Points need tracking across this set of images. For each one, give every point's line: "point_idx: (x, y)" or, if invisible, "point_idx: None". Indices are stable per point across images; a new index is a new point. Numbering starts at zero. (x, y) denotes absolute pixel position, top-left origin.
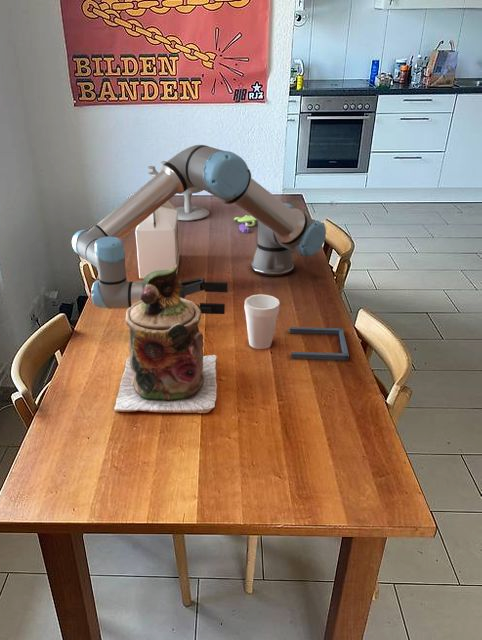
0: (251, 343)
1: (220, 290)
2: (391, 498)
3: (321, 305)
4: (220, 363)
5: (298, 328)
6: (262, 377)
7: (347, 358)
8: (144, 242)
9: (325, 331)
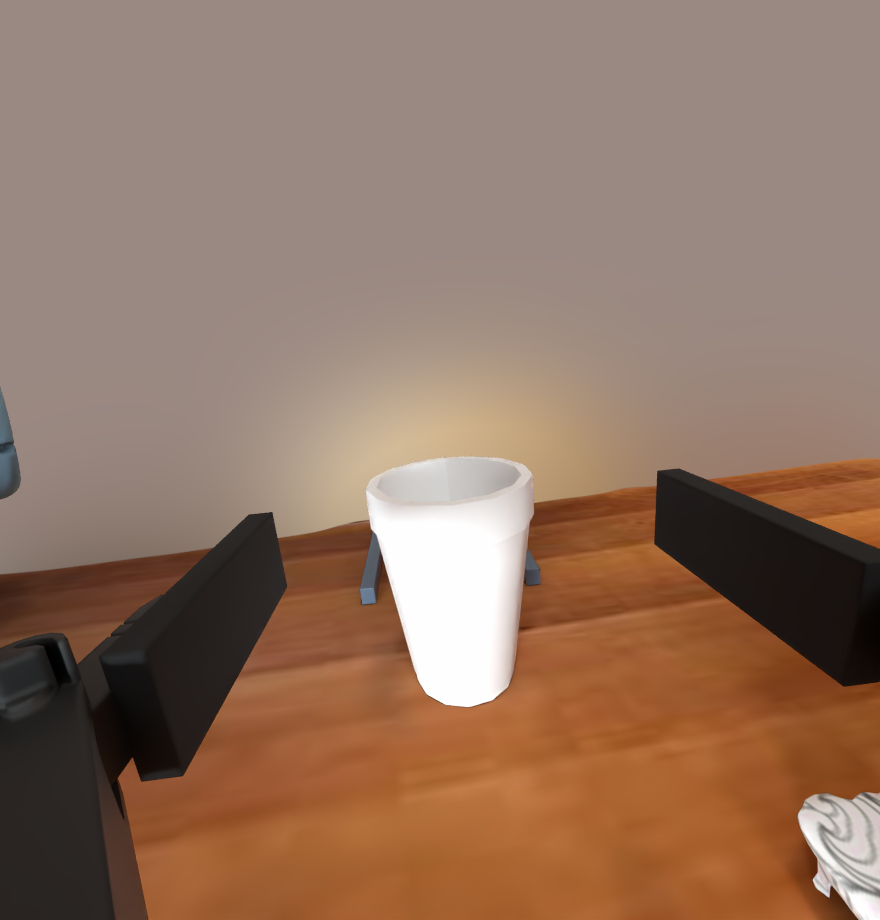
0: (505, 675)
1: (263, 607)
2: (876, 470)
3: None
4: (767, 818)
5: (372, 573)
6: (714, 628)
7: None
8: None
9: None
